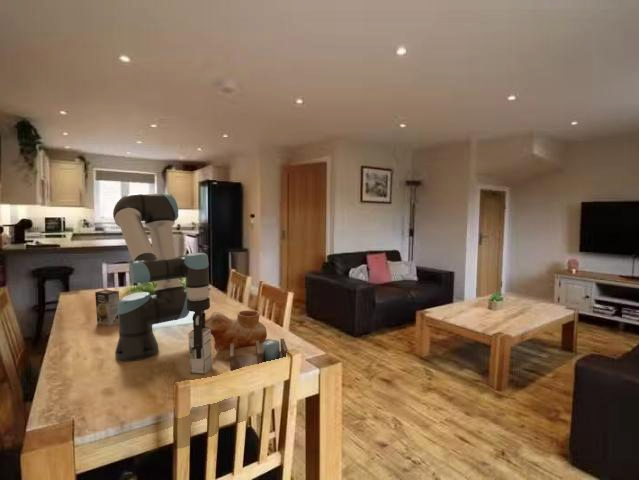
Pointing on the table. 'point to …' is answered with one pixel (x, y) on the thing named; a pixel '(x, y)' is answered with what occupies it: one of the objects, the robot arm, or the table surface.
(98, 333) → the table surface
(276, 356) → the grey-blue rounded cube
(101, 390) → the table surface
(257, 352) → the slot rack
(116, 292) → the coffee box
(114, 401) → the table surface
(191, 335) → the syrup box
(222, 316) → the ceramic vessel
